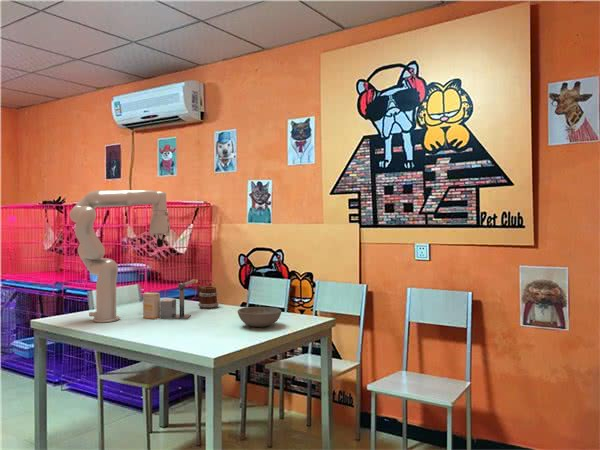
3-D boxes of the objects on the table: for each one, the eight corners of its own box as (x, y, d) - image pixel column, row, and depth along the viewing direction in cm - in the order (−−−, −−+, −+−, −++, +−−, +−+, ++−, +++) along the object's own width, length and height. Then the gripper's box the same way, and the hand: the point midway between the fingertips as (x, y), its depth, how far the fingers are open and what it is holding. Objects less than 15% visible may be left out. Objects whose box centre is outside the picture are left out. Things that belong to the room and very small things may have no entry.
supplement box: (160, 317, 253) (160, 292, 253) (153, 319, 249) (153, 294, 249) (150, 316, 258) (149, 291, 258) (142, 317, 254) (142, 292, 254)
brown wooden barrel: (208, 309, 274) (205, 283, 276) (192, 311, 283) (189, 286, 284) (223, 306, 284) (220, 281, 285) (207, 308, 292) (204, 283, 293)
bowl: (232, 323, 238) (232, 307, 238) (272, 320, 247) (272, 304, 247) (245, 332, 219) (245, 315, 219) (287, 328, 227) (287, 311, 227)
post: (172, 319, 249) (171, 289, 249) (176, 316, 257) (176, 287, 257) (187, 319, 249) (187, 289, 249) (191, 316, 257) (191, 287, 257)
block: (160, 318, 250) (160, 301, 250) (165, 315, 258) (164, 298, 258) (171, 318, 250) (171, 301, 250) (176, 315, 258) (176, 298, 258)
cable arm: (192, 282, 272) (191, 279, 272) (198, 282, 271) (198, 279, 271) (177, 287, 252) (177, 283, 251) (183, 287, 251) (183, 284, 251)
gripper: (174, 213, 273) (175, 246, 274) (148, 214, 274) (149, 246, 274) (170, 213, 266) (171, 246, 266) (143, 213, 267) (144, 247, 267)
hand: (160, 246), depth 270 cm, fingers closed
